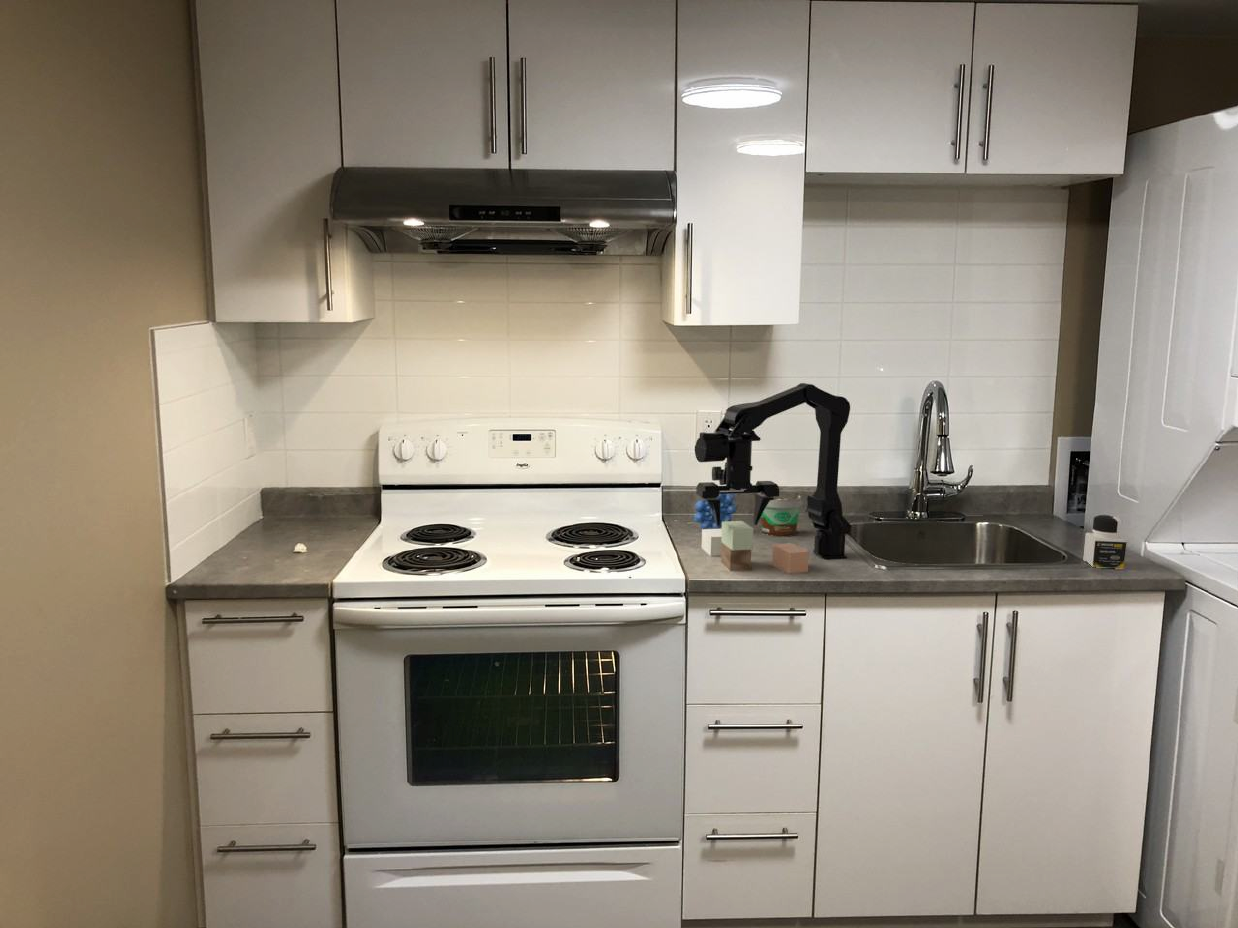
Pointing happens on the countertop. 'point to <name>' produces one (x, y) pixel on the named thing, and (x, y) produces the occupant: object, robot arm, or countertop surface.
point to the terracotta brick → (790, 558)
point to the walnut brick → (735, 558)
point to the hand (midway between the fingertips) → (736, 525)
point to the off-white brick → (712, 541)
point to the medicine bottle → (1105, 543)
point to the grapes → (707, 515)
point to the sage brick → (737, 535)
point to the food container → (781, 516)
